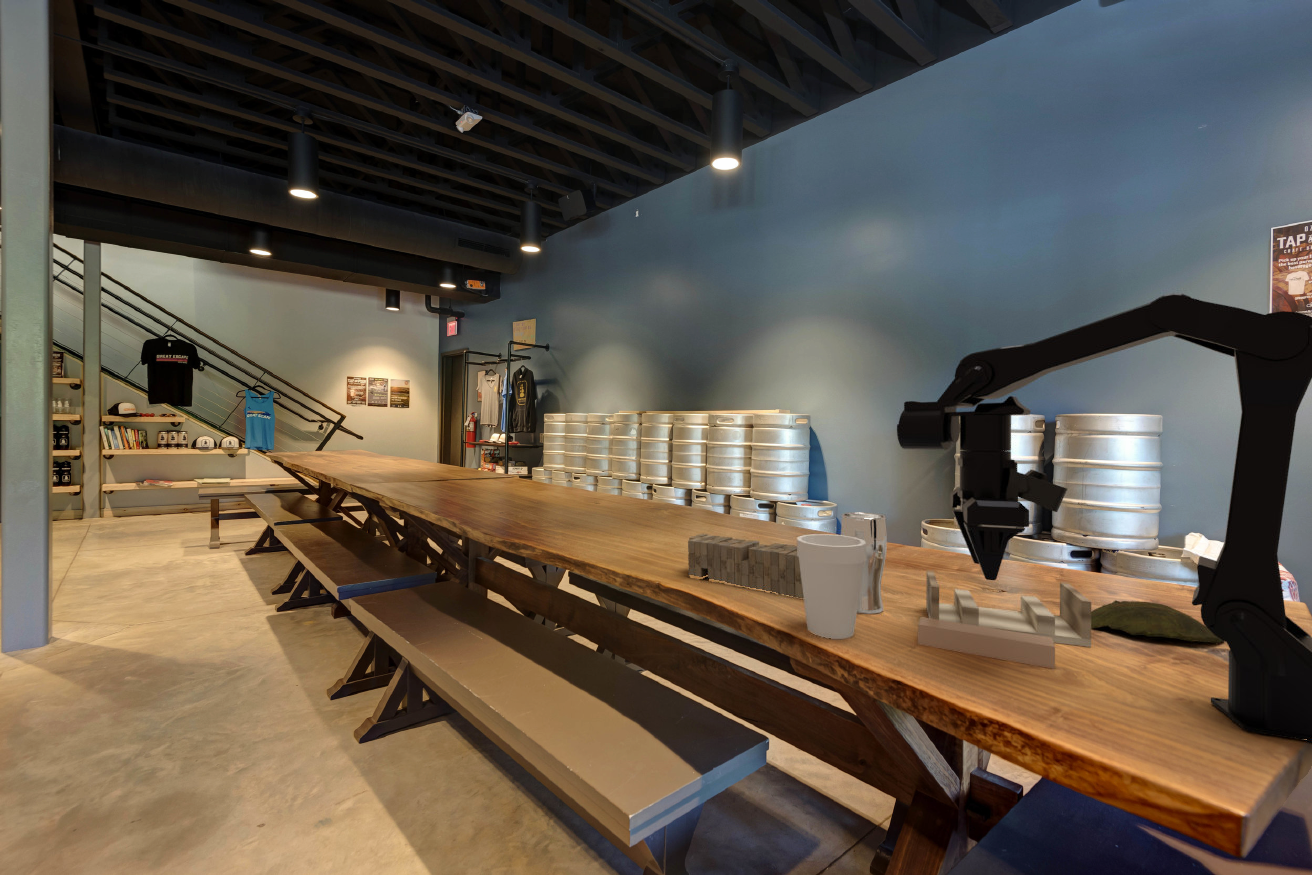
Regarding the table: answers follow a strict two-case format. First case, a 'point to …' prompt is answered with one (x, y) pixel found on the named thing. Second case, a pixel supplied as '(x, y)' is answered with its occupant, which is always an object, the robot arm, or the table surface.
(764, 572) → the block tower
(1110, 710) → the table surface
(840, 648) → the table surface
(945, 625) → the clay strip
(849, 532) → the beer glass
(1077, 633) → the drying rack
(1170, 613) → the pottery fragment
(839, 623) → the foam cup
